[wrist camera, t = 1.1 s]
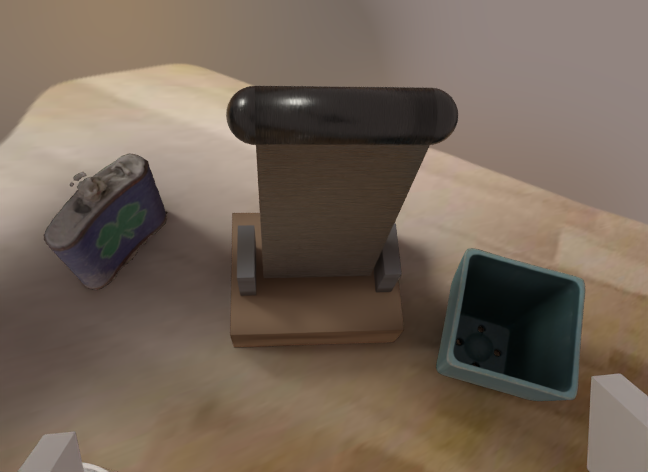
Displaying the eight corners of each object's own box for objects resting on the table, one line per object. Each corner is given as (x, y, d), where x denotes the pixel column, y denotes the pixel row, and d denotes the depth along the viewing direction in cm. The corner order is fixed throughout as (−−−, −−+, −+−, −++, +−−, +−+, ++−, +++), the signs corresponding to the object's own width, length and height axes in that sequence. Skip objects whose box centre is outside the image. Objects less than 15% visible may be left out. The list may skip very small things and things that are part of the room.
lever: (384, 282, 43) (469, 123, 24) (246, 285, 42) (223, 122, 23) (381, 251, 44) (460, 76, 25) (247, 253, 43) (224, 73, 24)
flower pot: (414, 386, 44) (445, 363, 36) (434, 285, 48) (466, 245, 40) (521, 417, 44) (577, 401, 36) (533, 313, 48) (586, 278, 39)
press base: (393, 342, 46) (416, 314, 38) (234, 347, 44) (225, 320, 37) (382, 231, 50) (400, 187, 42) (235, 233, 48) (228, 189, 41)
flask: (98, 297, 45) (49, 244, 35) (72, 276, 46) (17, 219, 36) (174, 215, 49) (149, 147, 39) (149, 198, 49) (118, 126, 39)
